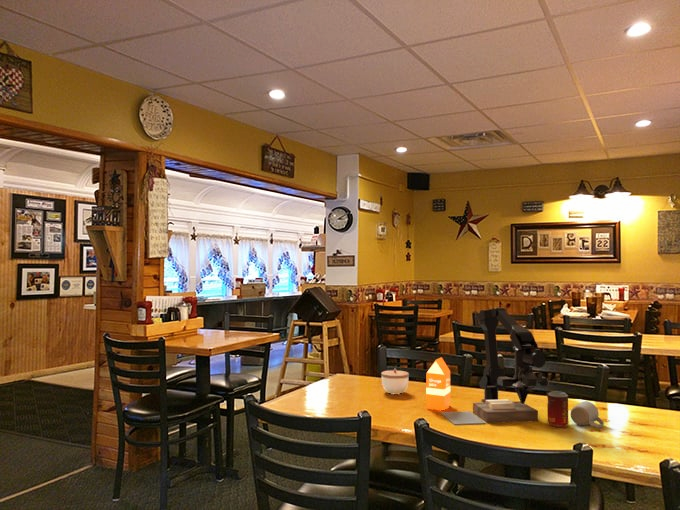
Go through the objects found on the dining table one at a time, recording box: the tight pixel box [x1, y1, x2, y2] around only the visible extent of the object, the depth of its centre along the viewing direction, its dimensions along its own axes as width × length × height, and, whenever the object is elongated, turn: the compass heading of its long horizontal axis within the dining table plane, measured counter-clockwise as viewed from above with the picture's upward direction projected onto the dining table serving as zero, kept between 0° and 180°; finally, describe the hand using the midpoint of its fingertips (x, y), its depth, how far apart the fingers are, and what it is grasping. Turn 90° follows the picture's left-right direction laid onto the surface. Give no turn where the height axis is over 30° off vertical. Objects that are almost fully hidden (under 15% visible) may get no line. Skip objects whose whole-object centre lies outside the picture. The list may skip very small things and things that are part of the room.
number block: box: [485, 398, 514, 409], centre depth 207 cm, size 6×9×2 cm, turn 97°
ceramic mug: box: [570, 401, 605, 429], centre depth 198 cm, size 11×8×8 cm
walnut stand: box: [472, 400, 539, 424], centre depth 208 cm, size 14×20×4 cm
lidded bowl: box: [380, 368, 410, 395], centre depth 247 cm, size 13×13×11 cm
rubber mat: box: [440, 410, 487, 426], centre depth 205 cm, size 16×12×1 cm
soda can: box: [546, 390, 569, 430], centre depth 196 cm, size 7×7×12 cm
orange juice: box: [425, 357, 451, 411], centre depth 222 cm, size 8×9×20 cm
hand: (522, 403), depth 209 cm, fingers closed
